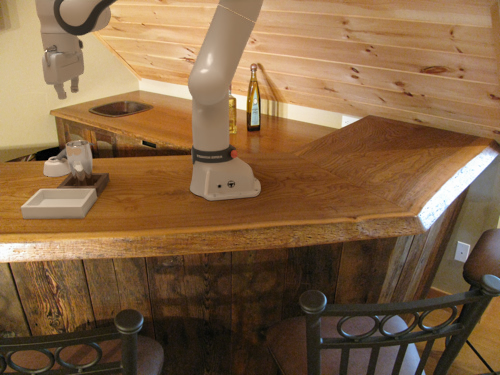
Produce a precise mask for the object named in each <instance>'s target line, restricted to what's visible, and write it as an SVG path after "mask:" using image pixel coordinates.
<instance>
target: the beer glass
mask: <svg viewBox="0 0 500 375" xmlns="http://www.w3.org/2000/svg"><path fill="white" fill-rule="evenodd" d="M65 148H66V153H67V157H66V159H67V160H68V163H69V166H70V169H71V173H72V174H73V177H74V181H75V185H74V186H94V185H95V183H94V182H93V179H92V173H93V154H92V150H91V145H89V140H85V139H84V140H83V139H79V140H78V139H77V140H71V141H68V142H67V143H65Z"/></svg>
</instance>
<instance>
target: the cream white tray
mask: <svg viewBox="0 0 500 375" xmlns="http://www.w3.org/2000/svg"><path fill="white" fill-rule="evenodd" d="M97 200H98V197H97V195H96V189H95V188H85V189H56V188H39V190H37V191H36V192H35V193H34V194H33V195H32V196H31V197H30V198H29V199H27V201H26V202H25V203H23V205H21V206H20V211H21V213H22V214H21V215H22V217H23V218H22V219H23V220H30V219H31V220H35V219H36V220H38V219H39V220H41V219H42V220H43V219H44V220H47V219H48V220H49V219H51V220H52V219H53V220H56V219H57V220H58V219H60V220H61V219H62V220H63V219H69V220H70V219H85V217H86V216H87V214H88V213H89V212H90V210H91V209H92V207H93V206H94V204H95V203H96V202H97Z"/></svg>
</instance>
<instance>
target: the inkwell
mask: <svg viewBox="0 0 500 375" xmlns="http://www.w3.org/2000/svg"><path fill="white" fill-rule="evenodd" d="M88 142H89V141H88ZM89 145H90V146H96V144H95V143H93V142H89ZM42 173H43V175H44V176H45V177H47V176H48V177H47V178H58V177H63V176H64V177H65V176H66V175H67V176H68V175H70V174H71V173H72V172H71V169H70V166H69V163H68V159H67V153H66V147H65V148H63V149H62V150H61V151H60V152H59V153H58V154H57V155H56V156H51V157H49V158H48V160H46V161H44V165H43V172H42Z"/></svg>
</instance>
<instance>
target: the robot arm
mask: <svg viewBox="0 0 500 375" xmlns="http://www.w3.org/2000/svg"><path fill="white" fill-rule="evenodd" d="M34 1H35V2H34V3H35V9H36V15H37V17H38V20H39V23H40V29H39V30H40V37H41V43H42V47H43V52H44V54H42V58H41V63H42V72H43V79H44V82H45V84H46V85H51V86H52V85H53V89H54V90H55V92H56V93H57V99H58V100H65V99H67V97H68V95H67V91H65V88H64V87H65V85H64V84H65V83H66V82H68V81H70V86H69V88H70V92H71V93H73V94H76V93H78V92H79V91H80V90H79V82H80V77H79V76H81V75H84V72H85V61H84V52H83V49H84V42H83V40H81V39H80V38H79V36H81V37H82V36H85V35H87V34H89V33H95V32H98V31H102V30H103V29H104V28H106V27H107V26H108V25H109V23H110V21H111V15H112V13H111V7H110V6H112V5H113V4H114V3H116V2H117V1H118V0H34ZM263 3H264V0H219V1H218V3H217V6H216V9H215V12H214V14H213V16H212V19H211V21H210V24H209V26H208V28H207V32H206V33H205V34H206V35H205V36H204V39H203V42H202V44H201V46H200V48H199V52H198V53H197V56H196V59H195V61H194V63H193V65H192V68H191V70H190V73H189V75H188V79H187V87H188V91H189V94H190V95H191V106H192V107H191V129H192V130H191V133H192V145H191V162H192V174H191V176H192V178H191V182H190V184H189V185H190V186H189V190H190V192H192V193H193V194H194V195H197V196H199V197H202V198H204V199H205V200H207V201H210V202H211V201H213V202H214V201H222V200H232V199H244V198H254V197H257V196H259V195H260V193H261V191H262V188H261V182H260V181H259V179H258V178H256V177H255V175H254V173H253V169H252V167H251V166H250V165H249V164H248V163H246V162H245V161H243V160H242V159H240V158H239V157H238V151H237V147H236V146H235V144H230V86H231V84H232V82H233V79H234V77H235V74H236V71H237V69H238V66H239V64H240V62H241V60H242V56H243V53H244V51H245V49H246V47H247V44H248V42H249V40H250V37H251V35H252V33H253V30H254V28H255V25H256V23H257V21H258V18H259V17H260V16H259V15H260V13H261V10H262V6H263Z"/></svg>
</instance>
